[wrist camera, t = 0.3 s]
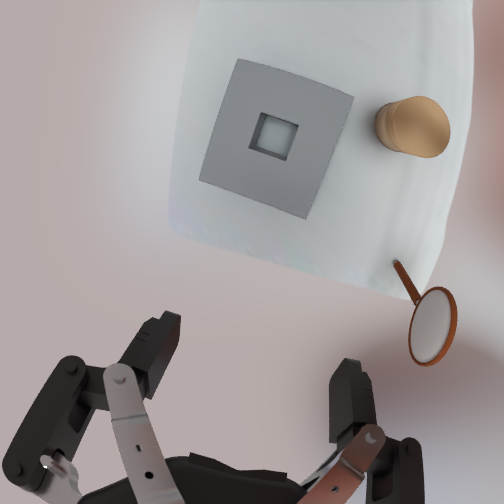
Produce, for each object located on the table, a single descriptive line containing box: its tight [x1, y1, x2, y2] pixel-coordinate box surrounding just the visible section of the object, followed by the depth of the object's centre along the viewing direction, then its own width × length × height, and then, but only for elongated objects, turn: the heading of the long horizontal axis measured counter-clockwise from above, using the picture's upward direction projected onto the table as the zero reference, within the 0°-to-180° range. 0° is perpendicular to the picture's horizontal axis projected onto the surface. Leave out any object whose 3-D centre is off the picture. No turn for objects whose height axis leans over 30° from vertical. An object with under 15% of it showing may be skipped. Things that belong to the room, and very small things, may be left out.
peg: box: [374, 96, 450, 158], centre depth 25 cm, size 6×6×13 cm
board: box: [199, 59, 354, 220], centre depth 32 cm, size 16×14×5 cm
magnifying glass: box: [394, 261, 457, 366], centre depth 29 cm, size 9×2×20 cm, turn 169°
